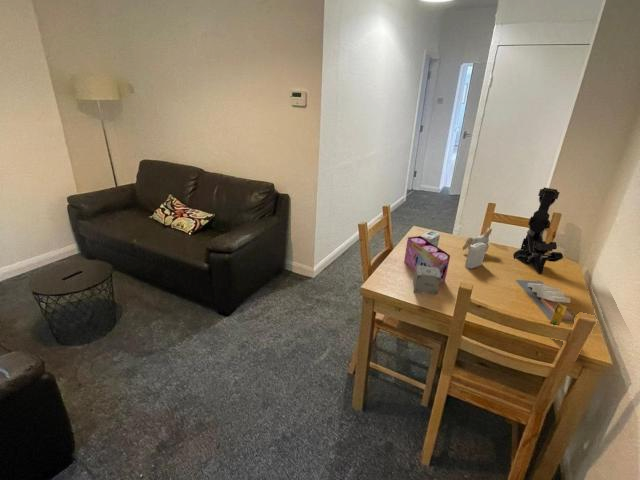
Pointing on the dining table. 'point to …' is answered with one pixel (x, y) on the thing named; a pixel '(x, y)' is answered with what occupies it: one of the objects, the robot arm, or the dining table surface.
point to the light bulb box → (431, 237)
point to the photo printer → (475, 255)
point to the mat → (537, 299)
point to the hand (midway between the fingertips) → (540, 274)
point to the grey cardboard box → (426, 279)
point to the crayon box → (558, 314)
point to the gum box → (426, 255)
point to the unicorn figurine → (478, 239)
